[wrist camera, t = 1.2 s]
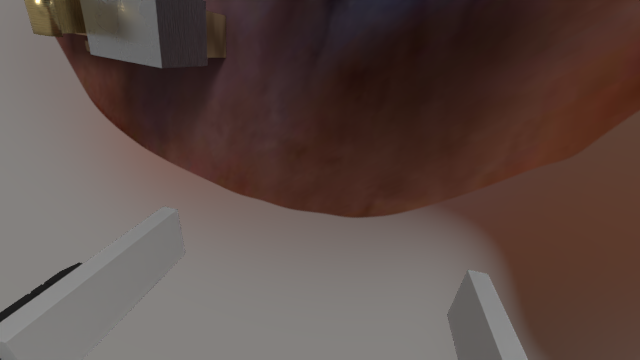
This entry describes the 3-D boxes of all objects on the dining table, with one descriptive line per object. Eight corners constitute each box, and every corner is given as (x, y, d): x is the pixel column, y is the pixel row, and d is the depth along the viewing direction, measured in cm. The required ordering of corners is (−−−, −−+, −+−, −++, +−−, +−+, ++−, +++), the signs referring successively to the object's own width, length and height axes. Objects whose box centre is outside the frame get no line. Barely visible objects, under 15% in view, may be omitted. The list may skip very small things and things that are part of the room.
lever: (89, -8, 27) (10, -29, 18) (108, -4, 27) (40, -23, 18) (98, 37, 29) (29, 39, 20) (115, 40, 29) (56, 42, 20)
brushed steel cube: (142, -9, 28) (74, -28, 21) (205, 1, 27) (153, -16, 21) (150, 54, 30) (90, 54, 24) (207, 65, 30) (162, 68, 23)
